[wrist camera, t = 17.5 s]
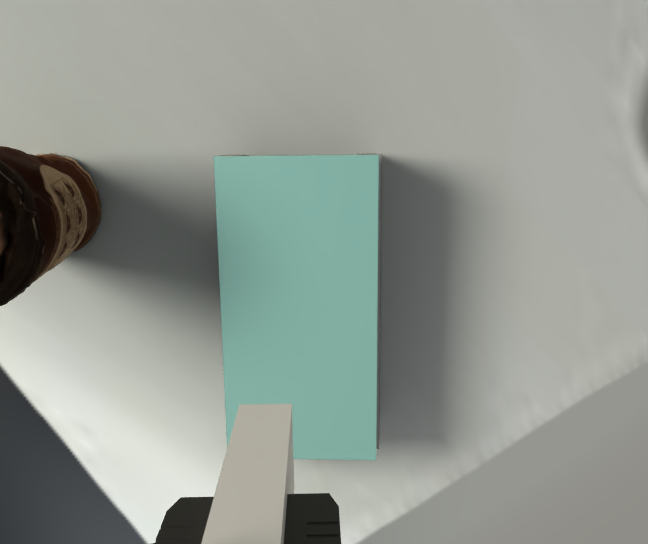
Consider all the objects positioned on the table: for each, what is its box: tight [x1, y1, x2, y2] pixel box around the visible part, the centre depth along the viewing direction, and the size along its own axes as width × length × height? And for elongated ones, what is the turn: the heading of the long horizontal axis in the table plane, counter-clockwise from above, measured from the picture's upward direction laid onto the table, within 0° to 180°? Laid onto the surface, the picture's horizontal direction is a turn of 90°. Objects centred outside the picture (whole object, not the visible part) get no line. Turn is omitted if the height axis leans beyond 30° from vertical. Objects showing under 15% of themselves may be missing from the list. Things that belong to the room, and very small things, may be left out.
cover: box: [214, 155, 379, 460], centre depth 35 cm, size 18×9×1 cm, turn 1°
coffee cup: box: [0, 146, 101, 306], centre depth 32 cm, size 9×8×13 cm
